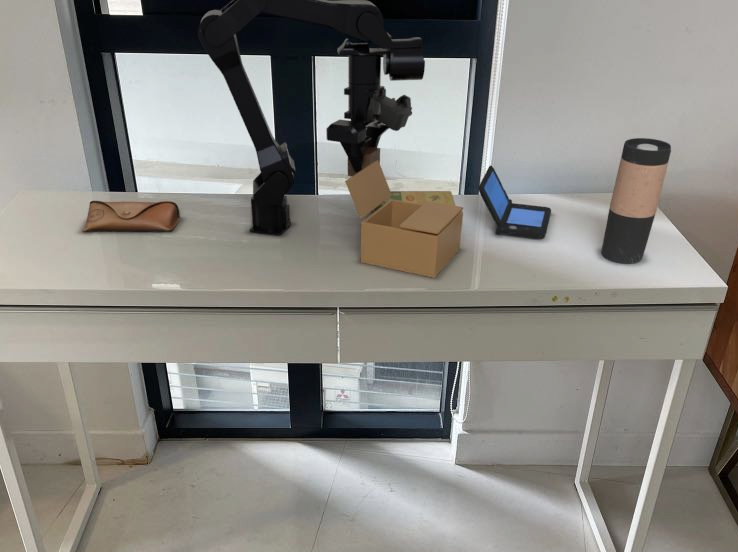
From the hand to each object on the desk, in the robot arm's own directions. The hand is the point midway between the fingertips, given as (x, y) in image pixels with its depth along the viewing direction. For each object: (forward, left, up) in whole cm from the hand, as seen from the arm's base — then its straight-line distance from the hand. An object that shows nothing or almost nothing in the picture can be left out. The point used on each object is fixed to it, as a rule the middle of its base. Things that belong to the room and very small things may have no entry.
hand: (363, 168), depth 136 cm
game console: (+29, +9, -11) cm, 32 cm away
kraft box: (+12, -12, -11) cm, 21 cm away
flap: (+4, -11, 0) cm, 11 cm away
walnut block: (0, 0, -1) cm, 1 cm away
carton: (+9, +7, -11) cm, 16 cm away
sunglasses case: (-44, -12, -11) cm, 47 cm away
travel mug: (+49, -2, -11) cm, 50 cm away
